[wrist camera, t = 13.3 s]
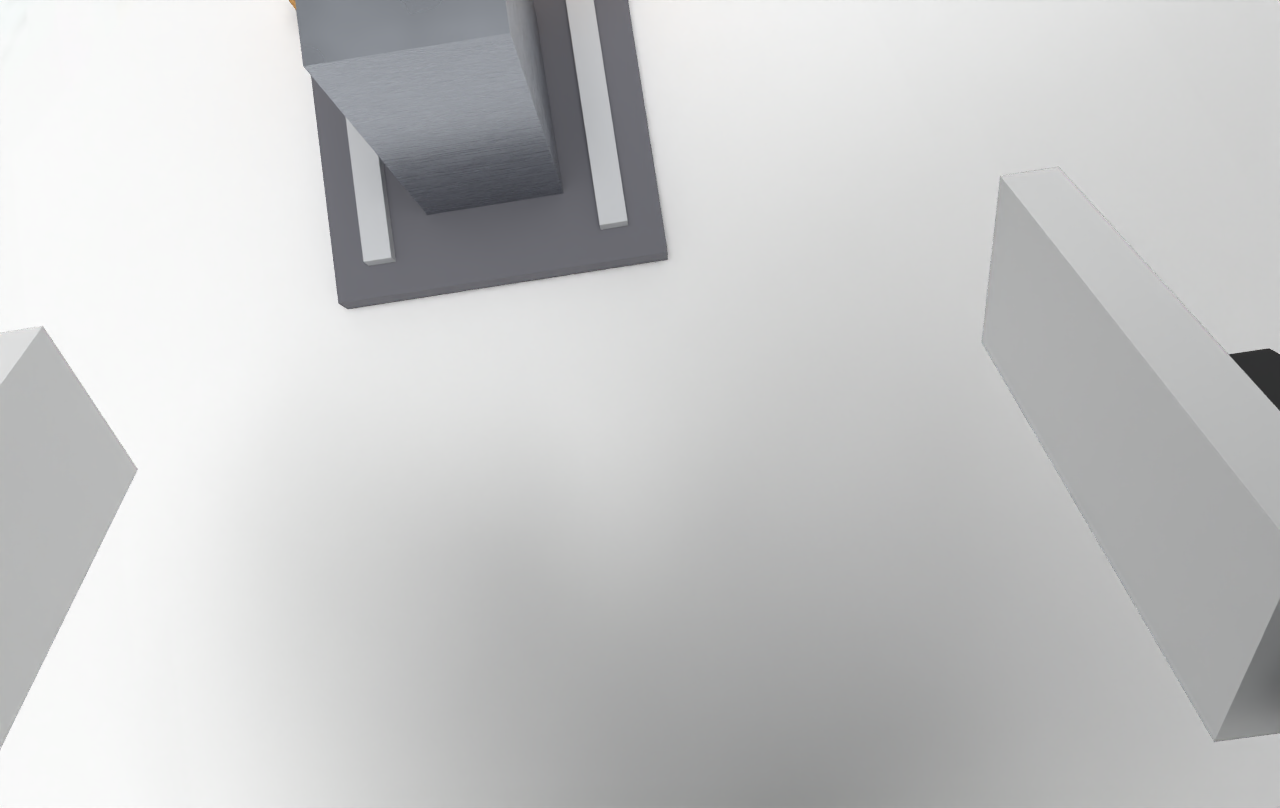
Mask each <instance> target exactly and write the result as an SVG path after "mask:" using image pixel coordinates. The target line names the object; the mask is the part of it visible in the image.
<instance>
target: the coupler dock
mask: <svg viewBox="0 0 1280 808" xmlns="http://www.w3.org/2000/svg"><path fill="white" fill-rule="evenodd" d="M289 1H290V3H291V4H292V5H293V7H294V8H295V9H296V3H295V0H289ZM533 3H534V7H535V11H536V16H537V23H538V29H539V36H540V43H541V49H542V56H543V62H544V69H545V76H546V82H547V89H548V95H549V102H550V109H551V115H552V122H553V128H554V135H555V142H556V148H557V155H558V161H559V168H560V174H561V181H562V188H563V194H557V195H551V196H545V197H538V198H532V199H526V200H520V201H513V202H507V203H501V204H495V205H488V206H482V207H476V208H470V209H463V210H457V211H451V212H445V213H438V214H432V215H427V214H426V213H425V212H424V210H423V209H422V208H421V207H420V206H419V204H418V203H417V202H416V201H415V200H414V198H413V197H412V196H411V195H410V194H409V192H408V191H407V190H406V189H405V188H404V186H403V185H402V184H401V183H400V182H399V180H398V179H397V178H396V177H395V176H394V174H393V173H392V172H391V171H390V170H389V168H388V167H387V166H386V165H385V164H384V162H383V161H382V160H381V159H380V158H379V156H378V155H377V154H376V153H375V152H374V150H373V149H372V148H371V147H370V146H369V144H368V143H367V142H366V141H365V140H364V138H363V137H362V136H361V135H360V134H359V132H358V131H357V130H356V129H355V128H354V126H353V125H352V124H351V123H350V122H349V120H348V119H347V118H346V117H345V116H344V114H343V113H342V112H341V111H340V110H339V108H338V107H337V106H336V105H335V104H334V102H333V101H332V100H331V99H330V98H329V96H328V95H327V94H326V93H325V92H324V90H323V89H322V88H321V87H320V86H319V84H318V83H317V82H316V81H315V80H314V78H313V77H312V76H311V79H312V87H313V95H314V104H315V112H316V120H317V129H318V137H319V145H320V153H321V162H322V170H323V178H324V187H325V195H326V203H327V211H328V220H329V228H330V236H331V245H332V253H333V261H334V269H335V278H336V286H337V294H338V303H339V304H340V305H342V306H344V307H345V308H347V309H350V308H357V307H363V306H370V305H376V304H383V303H389V302H395V301H402V300H408V299H415V298H421V297H428V296H434V295H441V294H447V293H454V292H460V291H466V290H473V289H479V288H486V287H492V286H499V285H505V284H512V283H518V282H524V281H531V280H537V279H544V278H550V277H557V276H563V275H570V274H576V273H583V272H589V271H595V270H602V269H608V268H615V267H621V266H628V265H634V264H641V263H647V262H653V261H660V260H666V259H667V255H668V252H667V246H666V240H665V233H664V227H663V221H662V214H661V208H660V202H659V195H658V189H657V183H656V176H655V170H654V164H653V157H652V151H651V145H650V138H649V132H648V126H647V119H646V113H645V107H644V100H643V94H642V88H641V81H640V75H639V69H638V62H637V56H636V50H635V43H634V37H633V31H632V24H631V18H630V12H629V5H628V0H533Z"/></svg>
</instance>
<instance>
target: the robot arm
mask: <svg viewBox="0 0 1280 808" xmlns="http://www.w3.org/2000/svg"><path fill="white" fill-rule="evenodd" d="M982 344H983V346H984V347H985V349H986V351H987V352H988V354H989V356H990V358H991V359H992V361H993V363H994V364H995V366H996V368H997V370H998V371H999V373H1000V375H1001V376H1002V378H1003V380H1004V382H1005V383H1006V385H1007V387H1008V388H1009V390H1010V392H1011V394H1012V395H1013V397H1014V399H1015V401H1016V402H1017V404H1018V406H1019V407H1020V409H1021V411H1022V413H1023V414H1024V416H1025V418H1026V419H1027V421H1028V423H1029V425H1030V426H1031V428H1032V430H1033V431H1034V433H1035V435H1036V437H1037V438H1038V440H1039V442H1040V443H1041V445H1042V447H1043V449H1044V450H1045V452H1046V454H1047V456H1048V457H1049V459H1050V461H1051V462H1052V464H1053V466H1054V468H1055V469H1056V471H1057V473H1058V474H1059V476H1060V478H1061V480H1062V481H1063V483H1064V485H1065V486H1066V488H1067V490H1068V492H1069V493H1070V495H1071V497H1072V498H1073V500H1074V502H1075V504H1076V505H1077V507H1078V509H1079V510H1080V512H1081V514H1082V516H1083V517H1084V519H1085V521H1086V523H1087V524H1088V526H1089V528H1090V529H1091V531H1092V533H1093V535H1094V536H1095V538H1096V540H1097V541H1098V543H1099V545H1100V547H1101V548H1102V550H1103V552H1104V553H1105V555H1106V557H1107V559H1108V560H1109V562H1110V564H1111V565H1112V567H1113V569H1114V571H1115V572H1116V574H1117V576H1118V578H1119V579H1120V581H1121V583H1122V584H1123V586H1124V588H1125V590H1126V591H1127V593H1128V595H1129V596H1130V598H1131V600H1132V602H1133V603H1134V605H1135V607H1136V608H1137V610H1138V612H1139V614H1140V615H1141V617H1142V619H1143V620H1144V622H1145V624H1146V626H1147V627H1148V629H1149V631H1150V633H1151V634H1152V636H1153V638H1154V639H1155V641H1156V643H1157V645H1158V646H1159V648H1160V650H1161V651H1162V653H1163V655H1164V657H1165V658H1166V660H1167V662H1168V663H1169V665H1170V667H1171V669H1172V670H1173V672H1174V674H1175V675H1176V677H1177V679H1178V681H1179V682H1180V684H1181V686H1182V687H1183V689H1184V691H1185V693H1186V694H1187V696H1188V698H1189V700H1190V701H1191V703H1192V705H1193V706H1194V708H1195V710H1196V712H1197V713H1198V715H1199V717H1200V718H1201V720H1202V722H1203V724H1204V725H1205V727H1206V729H1207V730H1208V732H1209V734H1210V736H1211V737H1212V739H1213V741H1214V742H1217V741H1224V740H1232V739H1239V738H1247V737H1254V736H1262V735H1269V734H1277V733H1280V354H1278V353H1276V352H1275V351H1273V350H1271V349H1262V350H1255V351H1249V352H1242V353H1235V354H1228V353H1227V352H1226V351H1225V350H1224V349H1223V348H1222V347H1221V346H1220V344H1219V343H1218V342H1217V341H1216V340H1215V339H1214V338H1213V337H1212V336H1211V335H1210V333H1209V332H1208V331H1207V330H1206V329H1205V328H1204V327H1203V326H1202V325H1201V324H1200V322H1199V321H1198V320H1197V319H1196V318H1195V317H1194V316H1193V315H1192V314H1191V312H1190V311H1189V310H1188V309H1187V308H1186V307H1185V306H1184V305H1183V304H1182V303H1181V301H1180V300H1179V299H1178V298H1177V297H1176V296H1175V295H1174V294H1173V293H1172V291H1171V290H1170V289H1169V288H1168V287H1167V286H1166V285H1165V284H1164V283H1163V282H1162V280H1161V279H1160V278H1159V277H1158V276H1157V275H1156V274H1155V273H1154V272H1153V271H1152V269H1151V268H1150V267H1149V266H1148V265H1147V264H1146V263H1145V262H1144V261H1143V259H1142V258H1141V257H1140V256H1139V255H1138V254H1137V253H1136V252H1135V251H1134V250H1133V248H1132V247H1131V246H1130V245H1129V244H1128V243H1127V242H1126V241H1125V240H1124V238H1123V237H1122V236H1121V235H1120V234H1119V233H1118V232H1117V231H1116V230H1115V229H1114V227H1113V226H1112V225H1111V224H1110V223H1109V222H1108V221H1107V220H1106V219H1105V218H1104V216H1103V215H1102V214H1101V213H1100V212H1099V211H1098V210H1097V209H1096V208H1095V206H1094V205H1093V204H1092V203H1091V202H1090V201H1089V200H1088V199H1087V198H1086V197H1085V195H1084V194H1083V193H1082V192H1081V191H1080V190H1079V189H1078V188H1077V187H1076V186H1075V184H1074V183H1073V182H1072V181H1071V180H1070V179H1069V178H1068V177H1067V176H1066V174H1065V173H1064V172H1063V171H1062V170H1061V169H1060V168H1059V167H1054V168H1047V169H1041V170H1034V171H1028V172H1022V173H1015V174H1009V175H1003V176H1000V183H999V192H998V201H997V210H996V219H995V228H994V237H993V246H992V255H991V264H990V273H989V282H988V290H987V299H986V308H985V317H984V326H983V335H982ZM137 470H138V469H137V468H136V466H135V465H134V463H133V462H132V460H131V458H130V457H129V455H128V454H127V452H126V451H125V449H124V448H123V446H122V445H121V443H120V442H119V440H118V439H117V437H116V436H115V434H114V433H113V431H112V430H111V428H110V427H109V425H108V424H107V422H106V421H105V419H104V418H103V416H102V415H101V413H100V412H99V410H98V409H97V407H96V406H95V404H94V403H93V401H92V399H91V398H90V396H89V395H88V393H87V392H86V390H85V389H84V387H83V386H82V384H81V383H80V381H79V380H78V378H77V377H76V375H75V374H74V372H73V371H72V369H71V368H70V366H69V365H68V363H67V362H66V360H65V359H64V357H63V356H62V354H61V353H60V351H59V350H58V348H57V347H56V345H55V343H54V342H53V340H52V339H51V337H50V336H49V334H48V333H47V331H46V330H45V328H44V327H43V326H40V327H33V328H27V329H21V330H14V331H8V332H2V333H0V749H1V747H2V745H3V743H4V741H5V739H6V737H7V735H8V733H9V731H10V728H11V726H12V724H13V722H14V720H15V718H16V716H17V714H18V712H19V710H20V708H21V706H22V704H23V702H24V700H25V698H26V696H27V694H28V692H29V690H30V688H31V686H32V684H33V682H34V680H35V678H36V676H37V673H38V671H39V669H40V667H41V665H42V663H43V661H44V659H45V657H46V655H47V653H48V651H49V649H50V647H51V645H52V643H53V641H54V639H55V637H56V635H57V633H58V631H59V629H60V627H61V625H62V623H63V621H64V618H65V616H66V614H67V612H68V610H69V608H70V606H71V604H72V602H73V600H74V598H75V596H76V594H77V592H78V590H79V588H80V586H81V584H82V582H83V580H84V578H85V576H86V574H87V572H88V570H89V568H90V566H91V563H92V561H93V559H94V557H95V555H96V553H97V551H98V549H99V547H100V545H101V543H102V541H103V539H104V537H105V535H106V533H107V531H108V529H109V527H110V525H111V523H112V521H113V519H114V517H115V515H116V513H117V511H118V509H119V506H120V504H121V502H122V500H123V498H124V496H125V494H126V492H127V490H128V488H129V486H130V484H131V482H132V480H133V478H134V476H135V474H136V472H137Z"/></svg>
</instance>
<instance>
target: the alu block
mask: <svg viewBox="0 0 1280 808" xmlns="http://www.w3.org/2000/svg"><path fill="white" fill-rule="evenodd" d="M295 3H296V11H297V19H298V27H299V35H300V43H301V51H302V59H303V66H304V68H305V69H306V70H307V71H308V72H309V74H310V75H311V76H312V77H313V78H314V80H315V81H316V82H317V83H318V84H319V86H320V87H321V88H322V89H323V90H324V92H325V93H326V94H327V95H328V96H329V98H330V99H331V100H332V101H333V102H334V104H335V105H336V106H337V107H338V108H339V110H340V111H341V112H342V113H343V114H344V116H345V117H346V118H347V119H348V120H349V122H350V123H351V124H352V125H353V126H354V128H355V129H356V130H357V131H358V132H359V134H360V135H361V136H362V137H363V138H364V140H365V141H366V142H367V143H368V144H369V146H370V147H371V148H372V149H373V150H374V152H375V153H376V154H377V155H378V156H379V158H380V159H381V160H382V161H383V162H384V164H385V165H386V166H387V167H388V168H389V170H390V171H391V172H392V173H393V174H394V176H395V177H396V178H397V179H398V180H399V182H400V183H401V184H402V185H403V186H404V188H405V189H406V190H407V191H408V192H409V194H410V195H411V196H412V197H413V198H414V200H415V201H416V202H417V203H418V204H419V206H420V207H421V208H422V209H423V210H424V212H425V213H426V214H427V215H432V214H438V213H445V212H451V211H457V210H463V209H470V208H476V207H482V206H488V205H495V204H501V203H507V202H513V201H520V200H526V199H532V198H538V197H545V196H551V195H557V194H563V188H562V181H561V174H560V168H559V161H558V155H557V148H556V142H555V135H554V128H553V122H552V115H551V109H550V102H549V95H548V89H547V82H546V76H545V69H544V62H543V56H542V49H541V43H540V36H539V29H538V23H537V16H536V11H535V7H534V3H533V0H295Z"/></svg>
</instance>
